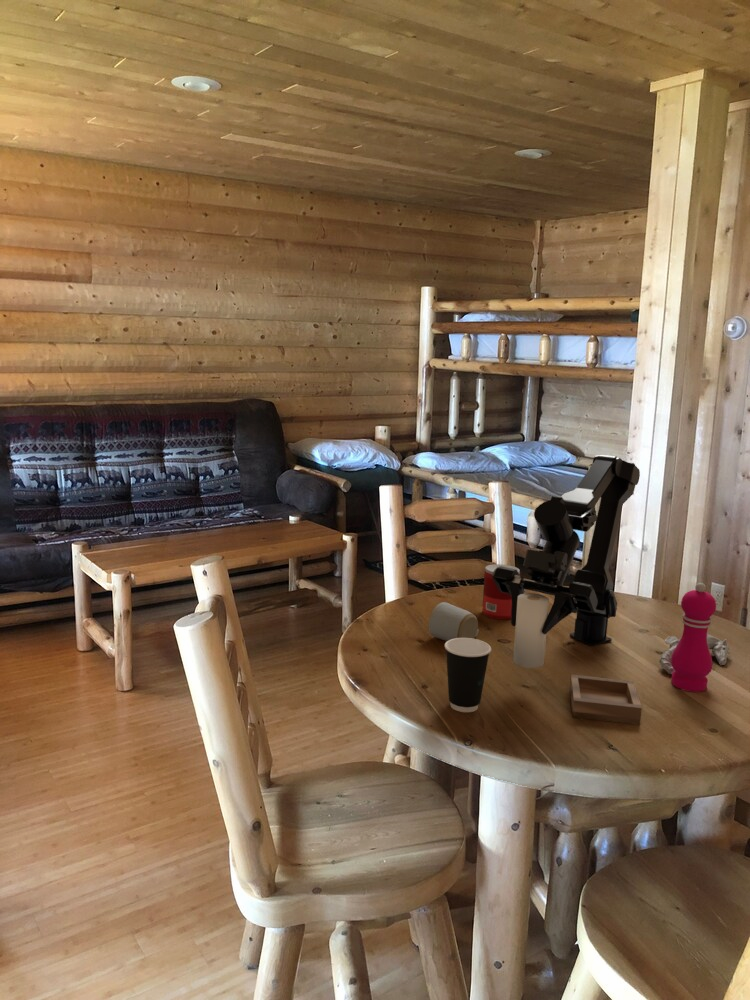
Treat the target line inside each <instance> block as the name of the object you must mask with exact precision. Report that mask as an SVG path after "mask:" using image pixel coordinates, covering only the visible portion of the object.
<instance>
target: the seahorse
mask: <svg viewBox="0 0 750 1000" xmlns="http://www.w3.org/2000/svg"><path fill="white" fill-rule="evenodd" d="M680 640H681V637H680V638H677V636H675V635H669V636H667V637H666V639H664V643H665V644H667V645H669V647H668V649H667V650H664V651H663V653H661V655H660V658H659V661H658V662H659V664H660V666H661V668H662V669H663V670H664V671H666V673H667V674H668V675H669V674H670V675H672V673H673V672H674V671H675V670H674V668H673V667H672V665H671V657H672V654H673V652H674V649H675V648H676V646H677V645H678V643H679V641H680ZM707 645H708V649H709V650H711V652H712V653H711V654H712V655H713V656H714V657H715V658H716V662H718V664H720V665H724V666H725V665H726V663H727V656H728V654H729V650H730V647H729V644H728V641H727V638H725V639H723V641H722V640H721V639H719V638H717V637H715V636H713V635H711V634H708V633H707ZM720 665H719V666H720Z"/></svg>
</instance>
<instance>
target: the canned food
mask: <svg viewBox="0 0 750 1000" xmlns="http://www.w3.org/2000/svg"><path fill="white" fill-rule="evenodd" d="M499 566H502V567H507V568H512V569H517V571H518V573H519V576H521V572H520V569H519V568H518V567H516V566H514V565H509V564H503V563H502V564H501V563H500V564H499V563H497V564H496V563H495V564H489V565H486V566H485V569H484V576H483V594H482V613H483V615H484V616H485V617H488V618H491V619H495V620H510V619H511V617H512V597H511V595H510V594H506V593H502V592H501V591H499V590H498V588H497V586H496V584H495V582H494V580H493V578H492V575H493V573H494V570H495V569H496V568H497V567H499Z"/></svg>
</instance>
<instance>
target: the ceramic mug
mask: <svg viewBox="0 0 750 1000" xmlns="http://www.w3.org/2000/svg"><path fill="white" fill-rule="evenodd" d="M478 624H479V622H478V618H477V617H476V615H474V614H473V613H472V612H470V611H468V610H466V609H464V608H461V607H458V606H457V605H456V606H455V605H453V604H451V603H448V602H446V601H443V602H439V603H438V604H437V605H436V606H435V607H434V608H433V610H432V612H431V614H430V616H429V621H428V630H429V633H430V635H431V636H432V637H434V638H437V639H438V640H443V641H445V642H447V641H449V640H451V639H455V638H473V639H475V637H477V636H478V635H479V631H480V629H478V627H479V625H478Z"/></svg>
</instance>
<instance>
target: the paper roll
mask: <svg viewBox="0 0 750 1000" xmlns="http://www.w3.org/2000/svg"><path fill="white" fill-rule="evenodd" d="M549 607H550V598H549V597H547V596H546V595H543V594H539V593H530V592H528V593H526V592H525V593H524V594H520V595H519V596H518V600H517V613H516V625H515V628H514V629H515V630H514V641H513V642H514V645H513V658H512V661H513V663H514V664H515V665H516V666H520V667H523V668H527V669H528V668H529V669H537V668H541V667H543V666H544V664H545V657H546V656H545V655H546V643H547V641H546V640H547V633H546V634H543V633H542V629H543V626H544V623H545V621H546V619H547V616H548V614H549V610H550V609H549Z"/></svg>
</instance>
